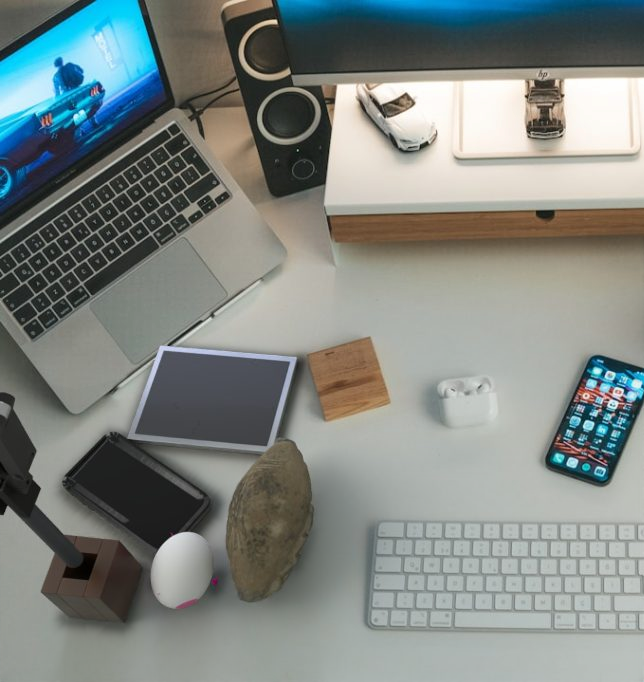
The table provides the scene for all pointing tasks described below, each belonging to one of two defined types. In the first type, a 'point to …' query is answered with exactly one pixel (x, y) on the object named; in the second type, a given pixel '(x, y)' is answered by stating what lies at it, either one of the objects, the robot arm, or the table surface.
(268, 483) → the stone
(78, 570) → the pen stand
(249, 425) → the tablet
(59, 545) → the stylus
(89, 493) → the phone
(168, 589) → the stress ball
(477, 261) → the table surface
